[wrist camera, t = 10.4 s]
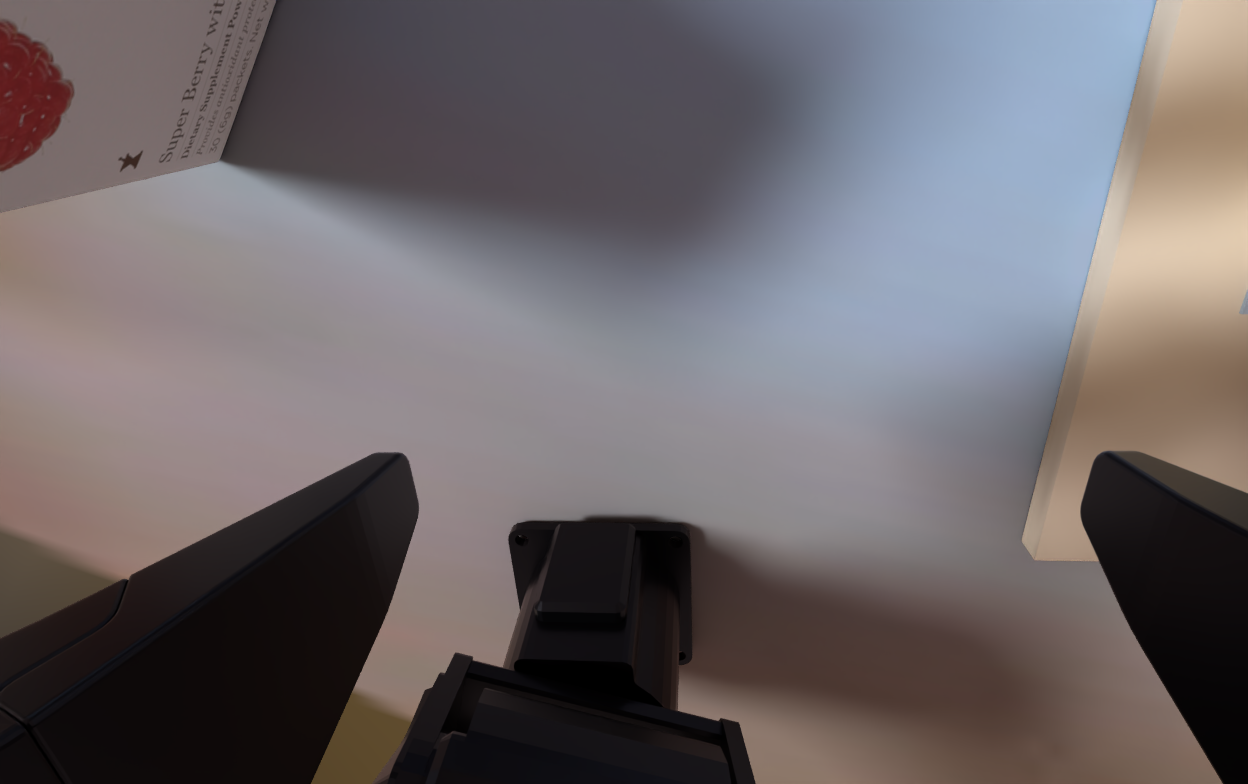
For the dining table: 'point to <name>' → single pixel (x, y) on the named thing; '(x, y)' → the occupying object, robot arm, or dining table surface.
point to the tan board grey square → (1162, 281)
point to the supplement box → (118, 90)
